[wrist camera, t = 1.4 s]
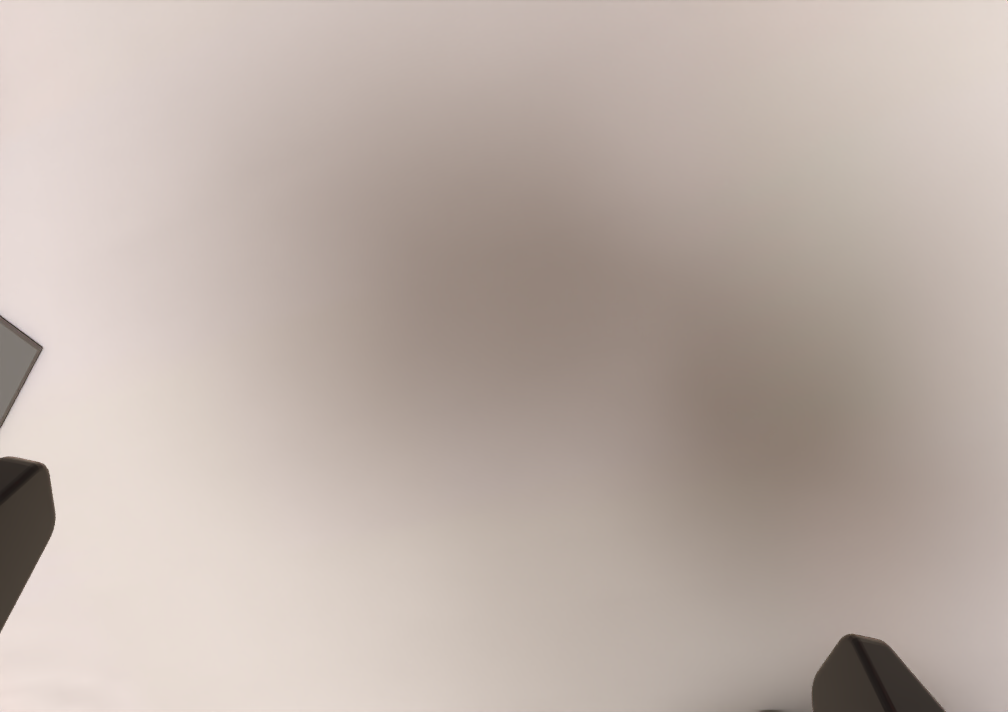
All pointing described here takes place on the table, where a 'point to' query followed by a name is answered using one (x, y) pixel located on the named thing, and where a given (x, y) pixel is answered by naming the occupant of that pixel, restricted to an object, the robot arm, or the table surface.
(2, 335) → the mat
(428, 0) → the table surface
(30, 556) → the robot arm
